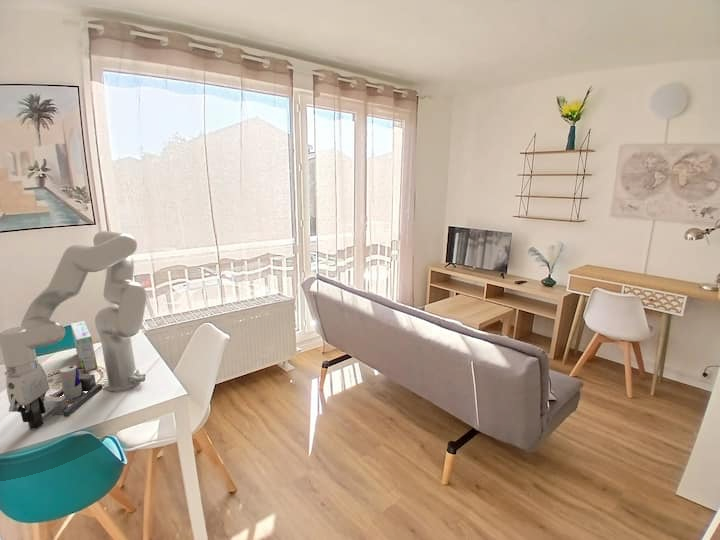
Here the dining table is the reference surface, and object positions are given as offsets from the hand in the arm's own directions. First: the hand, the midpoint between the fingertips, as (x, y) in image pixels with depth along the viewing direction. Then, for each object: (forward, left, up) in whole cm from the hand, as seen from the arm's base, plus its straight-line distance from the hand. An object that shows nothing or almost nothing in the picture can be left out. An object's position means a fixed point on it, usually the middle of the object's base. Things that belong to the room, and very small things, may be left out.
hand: (34, 416), depth 122 cm
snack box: (+15, -43, -4) cm, 46 cm away
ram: (0, -3, -3) cm, 5 cm away
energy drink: (0, -16, -4) cm, 17 cm away
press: (0, -14, -4) cm, 14 cm away
